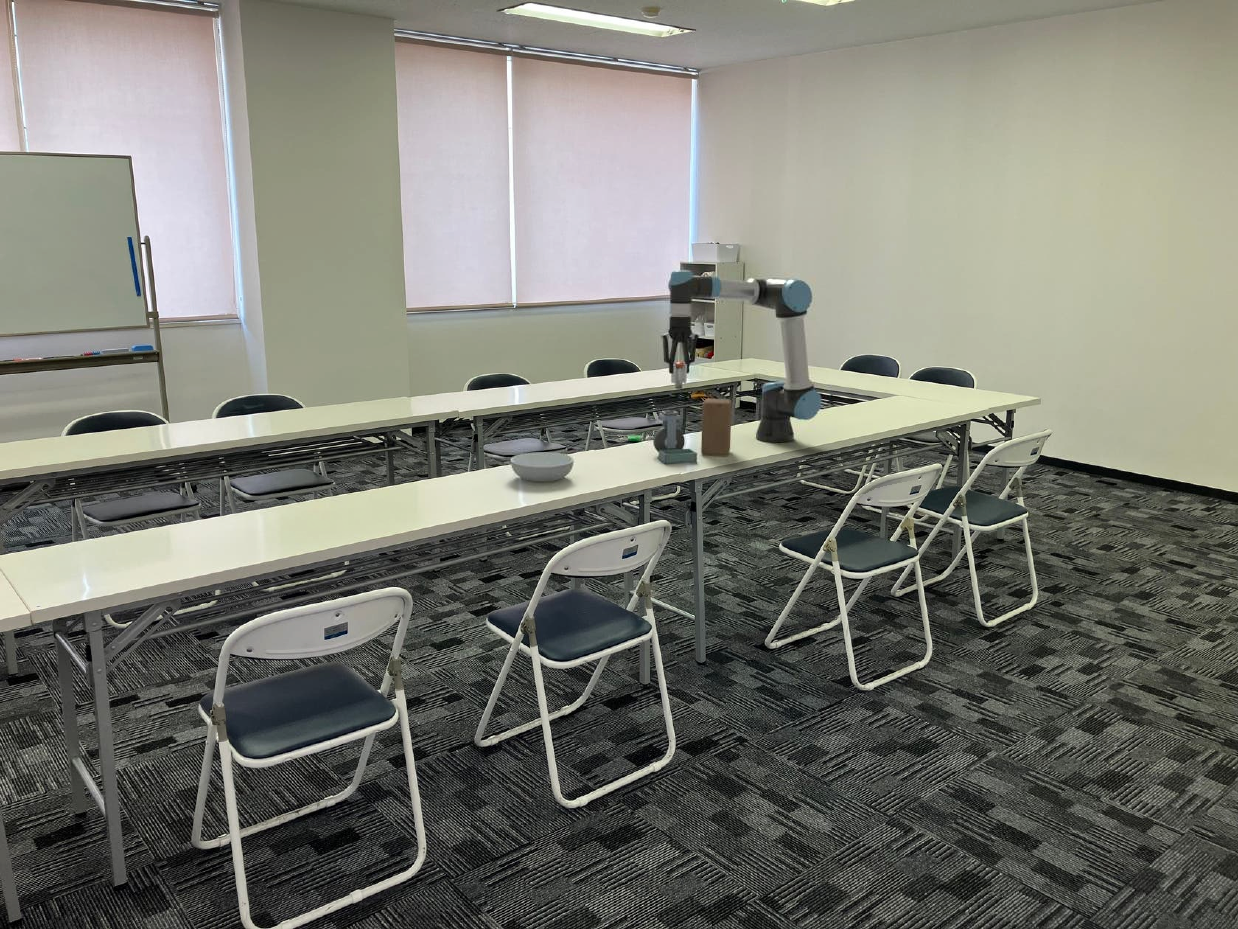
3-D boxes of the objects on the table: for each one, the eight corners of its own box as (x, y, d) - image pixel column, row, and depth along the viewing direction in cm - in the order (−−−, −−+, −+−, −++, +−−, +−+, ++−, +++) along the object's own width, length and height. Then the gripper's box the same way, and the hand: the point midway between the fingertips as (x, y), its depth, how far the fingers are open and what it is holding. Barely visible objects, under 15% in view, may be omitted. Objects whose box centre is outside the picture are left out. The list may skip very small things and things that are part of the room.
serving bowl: (505, 486, 299) (505, 465, 297) (516, 471, 319) (516, 451, 318) (570, 487, 298) (570, 466, 296) (576, 472, 318) (576, 452, 316)
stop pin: (681, 387, 331) (682, 362, 329) (684, 388, 328) (685, 363, 326) (672, 387, 330) (673, 362, 328) (675, 389, 327) (676, 363, 325)
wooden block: (727, 457, 342) (729, 403, 338) (700, 455, 344) (702, 402, 340) (730, 451, 352) (732, 399, 347) (703, 450, 354) (705, 398, 349)
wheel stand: (680, 453, 348) (680, 409, 344) (685, 457, 342) (686, 412, 338) (651, 454, 345) (652, 411, 341) (657, 458, 339) (657, 413, 335)
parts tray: (689, 457, 340) (690, 448, 339) (696, 462, 333) (697, 452, 332) (658, 459, 337) (658, 450, 336) (664, 464, 330) (665, 454, 329)
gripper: (699, 314, 329) (697, 380, 334) (654, 315, 325) (653, 381, 330) (706, 316, 322) (704, 383, 327) (661, 316, 318) (659, 384, 323)
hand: (678, 382), depth 328 cm, fingers closed on stop pin, 3 cm apart
